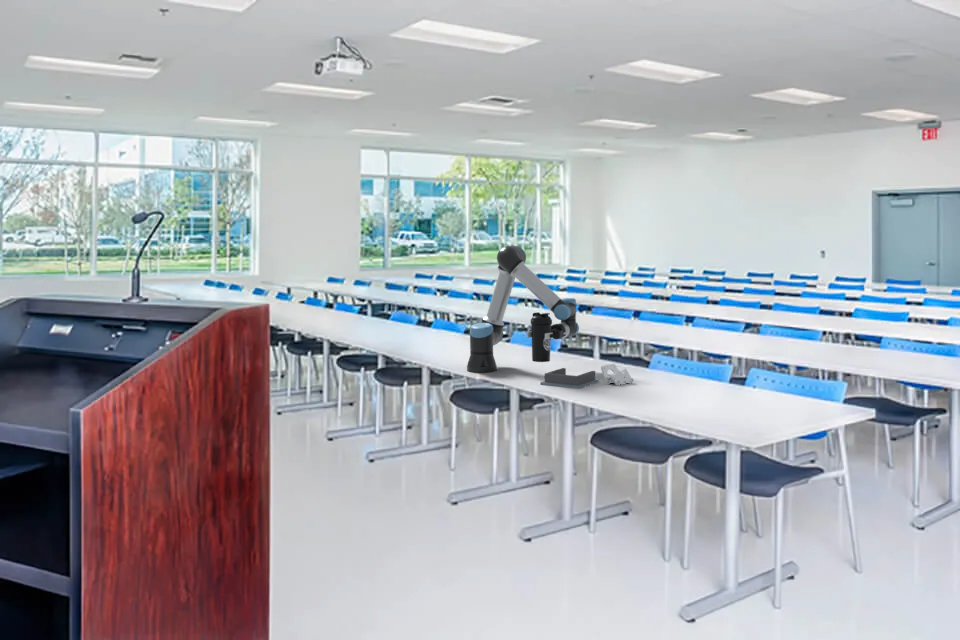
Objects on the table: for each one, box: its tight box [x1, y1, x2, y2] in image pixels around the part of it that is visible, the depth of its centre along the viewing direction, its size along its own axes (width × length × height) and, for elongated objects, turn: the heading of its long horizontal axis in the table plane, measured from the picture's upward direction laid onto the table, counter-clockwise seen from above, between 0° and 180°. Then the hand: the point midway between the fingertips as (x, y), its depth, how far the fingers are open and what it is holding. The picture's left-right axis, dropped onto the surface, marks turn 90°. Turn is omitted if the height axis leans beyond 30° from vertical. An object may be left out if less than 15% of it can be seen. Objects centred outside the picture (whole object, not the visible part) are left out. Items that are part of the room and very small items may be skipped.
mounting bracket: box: [600, 363, 635, 386], centre depth 367 cm, size 12×6×11 cm, turn 125°
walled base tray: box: [539, 367, 600, 389], centre depth 369 cm, size 20×20×5 cm
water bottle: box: [530, 311, 553, 363], centre depth 382 cm, size 10×10×23 cm
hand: (536, 335), depth 379 cm, fingers closed on water bottle, 9 cm apart
